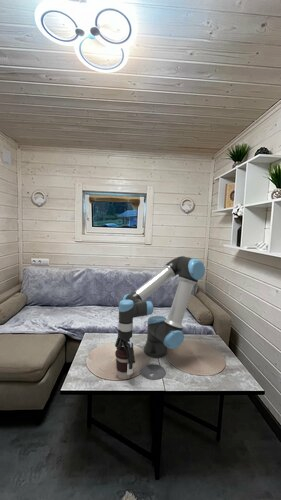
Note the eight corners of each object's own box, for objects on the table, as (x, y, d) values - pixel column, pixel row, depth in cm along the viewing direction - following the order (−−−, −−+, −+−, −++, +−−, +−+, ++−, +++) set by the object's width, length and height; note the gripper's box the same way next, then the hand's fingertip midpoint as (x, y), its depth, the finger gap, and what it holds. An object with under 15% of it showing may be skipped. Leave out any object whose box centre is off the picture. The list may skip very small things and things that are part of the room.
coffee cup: (124, 383, 128) (124, 356, 126) (110, 375, 134) (111, 349, 133) (136, 375, 135) (137, 349, 134) (123, 368, 142) (124, 342, 140)
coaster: (136, 368, 142) (136, 367, 142) (156, 362, 149) (156, 361, 149) (148, 382, 130) (148, 381, 130) (170, 375, 136) (170, 374, 136)
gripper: (109, 321, 141) (109, 357, 143) (129, 340, 119) (128, 382, 122) (122, 319, 145) (120, 354, 147) (143, 337, 123) (141, 378, 125)
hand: (124, 367), depth 134 cm, fingers open, 13 cm apart
